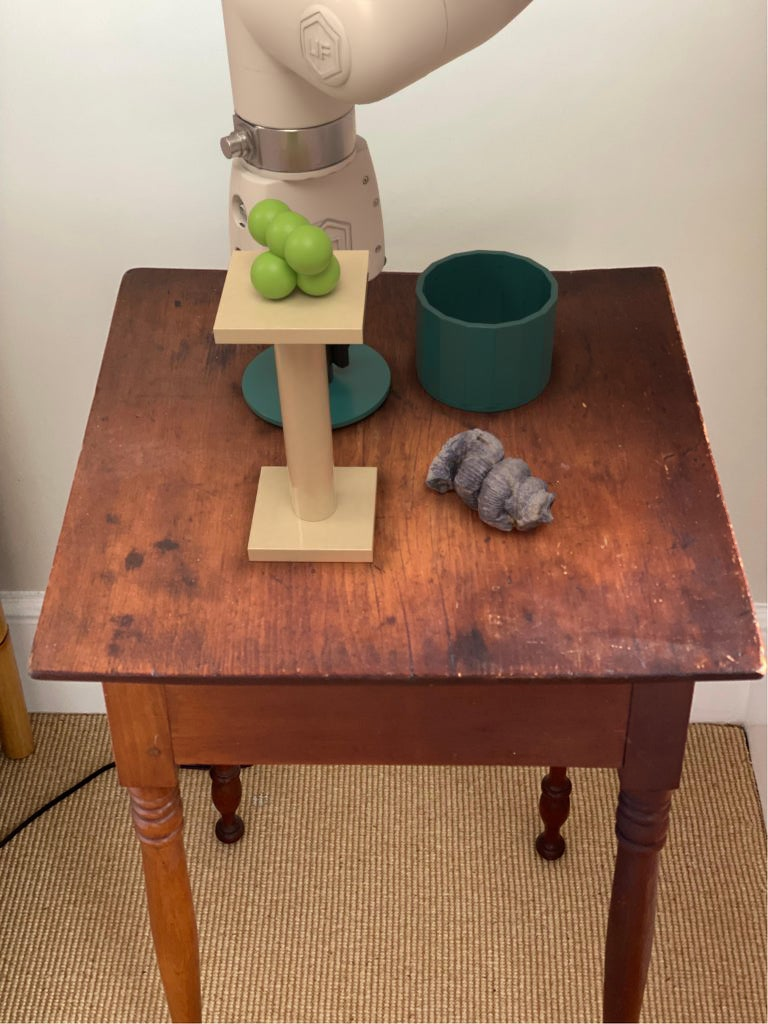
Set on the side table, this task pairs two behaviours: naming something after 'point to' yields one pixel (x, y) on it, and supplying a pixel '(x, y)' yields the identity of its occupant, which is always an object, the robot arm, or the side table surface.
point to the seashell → (491, 482)
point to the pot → (485, 329)
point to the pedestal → (305, 415)
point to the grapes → (290, 253)
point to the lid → (348, 387)
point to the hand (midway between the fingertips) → (315, 365)
